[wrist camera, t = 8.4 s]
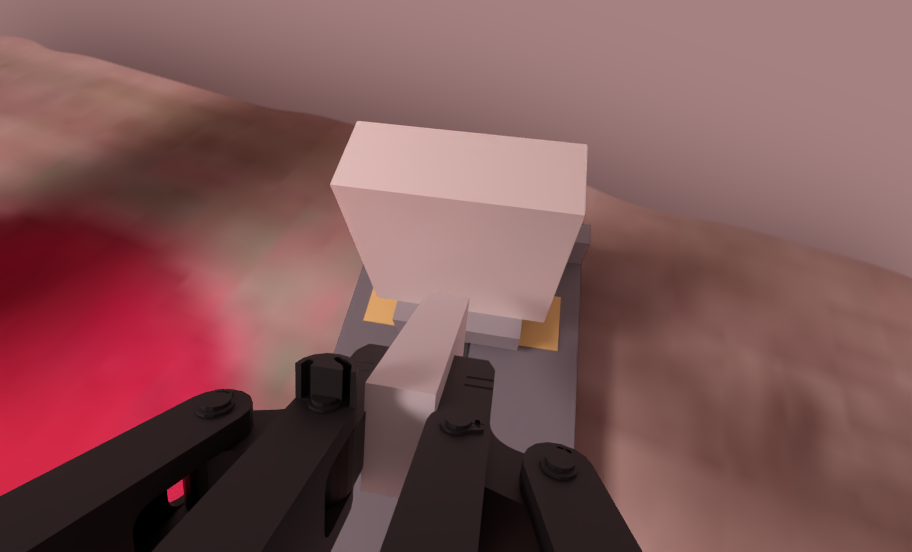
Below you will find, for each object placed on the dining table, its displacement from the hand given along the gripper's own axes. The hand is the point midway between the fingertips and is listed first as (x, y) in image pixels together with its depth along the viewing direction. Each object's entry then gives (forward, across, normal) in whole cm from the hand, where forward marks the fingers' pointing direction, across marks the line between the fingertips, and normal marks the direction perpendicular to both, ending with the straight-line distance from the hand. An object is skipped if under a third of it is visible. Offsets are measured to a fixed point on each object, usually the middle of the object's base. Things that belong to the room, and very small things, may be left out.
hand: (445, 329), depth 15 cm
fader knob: (+7, 0, -1) cm, 7 cm away
